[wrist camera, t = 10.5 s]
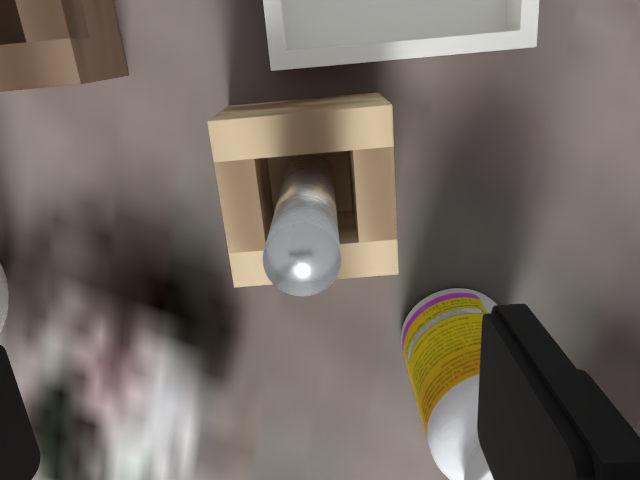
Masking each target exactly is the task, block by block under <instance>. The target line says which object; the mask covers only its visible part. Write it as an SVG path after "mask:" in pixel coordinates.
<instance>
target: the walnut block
mask: <svg viewBox="0 0 640 480" xmlns="http://www.w3.org/2000/svg"><path fill="white" fill-rule="evenodd" d="M128 75H129V74H128V69H127V64H126V59H125V55H124V50H123V45H122V40H121V35H120V31H119V26H118V21H117V16H116V11H115V7H114V2H113V0H0V92H1V91H12V90H23V89H34V88H45V87H55V86H66V85H77V84H85V83H90V82H95V81H101V80H106V79H112V78H117V77H123V76H128Z"/></svg>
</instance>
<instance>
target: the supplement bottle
mask: <svg viewBox="0 0 640 480" xmlns="http://www.w3.org/2000/svg"><path fill="white" fill-rule="evenodd" d="M495 305H497V304H496V303H495V302H494V301H493V300H492V299H490V298H489V297H487V296H486V295H484V294H482V293H480V292H477V291H474V290H470V289H463V288H453V289H446V290H442V291H438V292H436V293H433V294H431V295H429V296H427V297H426V298H424V299H423V300H421V301H420V302H419V303H418V304H417V305H415V307H414V308H413V309H412V310H411V311H410V313H409V314H408V316H407V318H406V320H405V322H404V324H403V328H402V332H401V346H402V351H403V355H404V359H405V363H406V366H407V370H408V373H409V377H410V380H411V383H412V387H413V390H414V394H415V397H416V401H417V404H418V408H419V411H420V415H421V419H422V422H423V426H424V429H425V433H426V437H427V440H428V444H429V447H430V451H431V453H432V456H433V458H434V460H435V462H436V464H437V465H438V467H439V468H440V470H441V471H442V472H443V473H444V474H445V475H446V476H447V477H448V478H449V479H450V480H494V479H493V477H492V474H491V472H490V469H489V466H488V464H487V461H486V459H485V456H484V454H483V451H482V449H481V446H480V443H479V439H478V432H477V417H478V396H479V374H480V353H481V332H482V318H483V315H484V314H488V313H491V311H492V308H493V307H494V306H495Z"/></svg>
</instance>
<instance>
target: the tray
mask: <svg viewBox="0 0 640 480" xmlns="http://www.w3.org/2000/svg"><path fill="white" fill-rule="evenodd" d="M263 5H264V14H265V23H266V32H267V41H268V49H269V58H270V67H271V71H276V70H287V69H298V68H309V67H320V66H331V65H342V64H354V63H365V62H376V61H387V60H398V59H409V58H420V57H431V56H442V55H453V54H464V53H476V52H487V51H498V50H509V49H520V48H531V47H537V31H538V14H539V0H263Z"/></svg>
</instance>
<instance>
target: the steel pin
mask: <svg viewBox="0 0 640 480" xmlns="http://www.w3.org/2000/svg"><path fill="white" fill-rule="evenodd" d="M263 266H264V270H265V273H266V275H267V277H268V278H269V280H270V281H271V282H272V283H273V284H274V285H275V286H276V287H277V288H278V289H280V290H281V291H283V292H285V293H288V294H291V295H295V296H309V295H314V294H317V293H319V292H321V291H323V290H325V289H326V288H328V287H329V286H330V285H331V284H332V283H333V282H334V280H335V279H336V277H337V275H338V273H339V270H340V267H341V252H340V242H339V232H338V222H337V212H336V202H335V192H334V182H333V173H332V169H331V167H330V165H329V163H328V162H327V161H326V160H325V159H324V158H323V157H321V156H319V155H317V154H304V155H299V156H297V157H295V158H294V159H293V160H292V161H291V162H290V163H289V165H288V167H287V170H286V173H285V177H284V180H283V184H282V187H281V191H280V195H279V198H278V202H277V205H276V209H275V212H274V216H273V220H272V223H271V227H270V230H269V234H268V238H267V241H266V245H265V248H264V252H263Z"/></svg>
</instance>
